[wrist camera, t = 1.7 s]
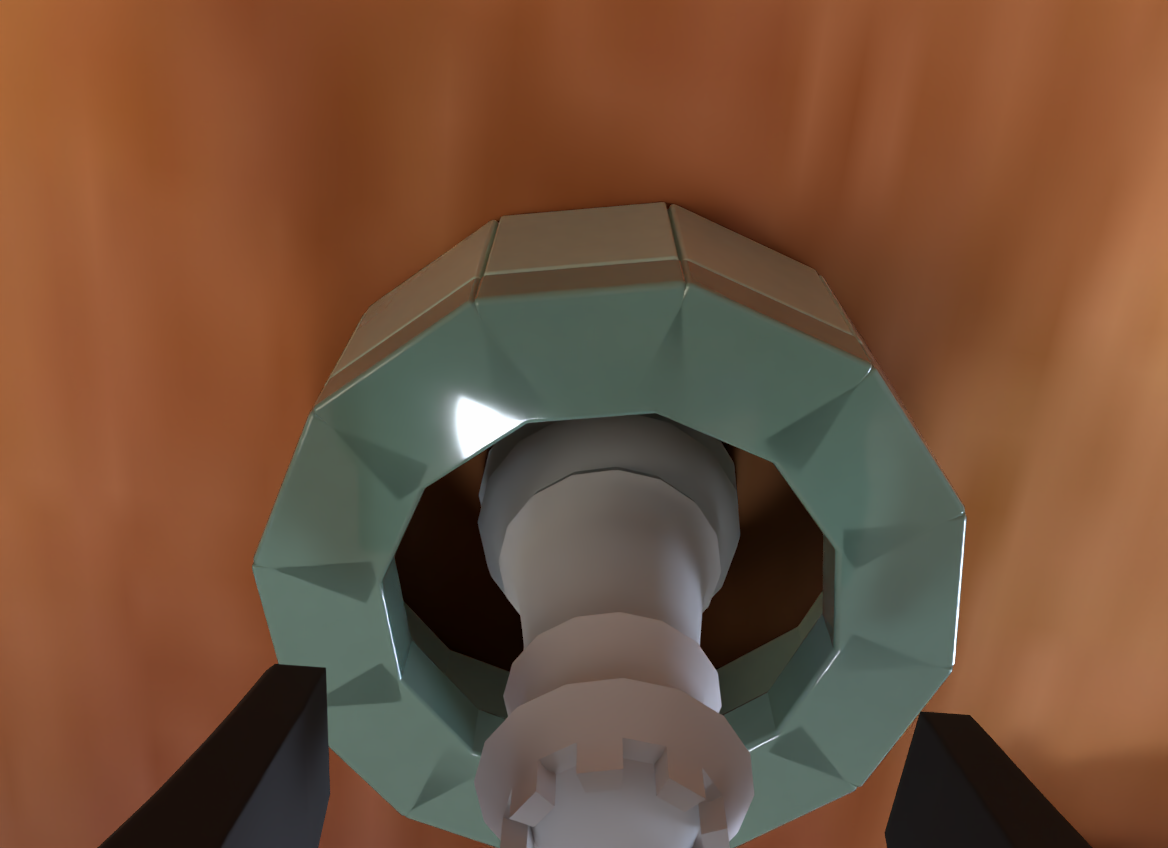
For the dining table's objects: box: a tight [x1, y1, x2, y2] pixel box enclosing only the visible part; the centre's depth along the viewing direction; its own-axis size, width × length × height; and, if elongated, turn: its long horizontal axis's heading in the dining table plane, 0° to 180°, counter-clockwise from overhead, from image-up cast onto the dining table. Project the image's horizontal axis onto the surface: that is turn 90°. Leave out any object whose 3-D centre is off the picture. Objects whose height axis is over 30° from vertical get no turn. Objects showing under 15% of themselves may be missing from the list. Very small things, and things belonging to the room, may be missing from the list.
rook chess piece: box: [474, 413, 754, 848], centre depth 15 cm, size 4×4×8 cm
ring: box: [252, 202, 967, 848], centre depth 17 cm, size 10×10×4 cm
